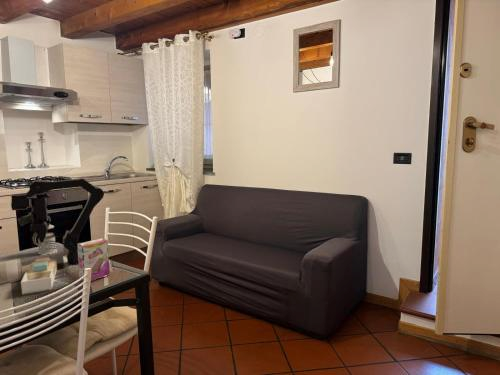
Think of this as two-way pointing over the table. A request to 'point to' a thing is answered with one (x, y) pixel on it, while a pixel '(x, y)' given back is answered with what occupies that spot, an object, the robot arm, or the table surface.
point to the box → (37, 284)
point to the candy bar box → (94, 257)
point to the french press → (51, 241)
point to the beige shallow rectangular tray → (42, 274)
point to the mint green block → (40, 266)
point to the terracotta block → (43, 260)
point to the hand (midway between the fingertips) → (42, 240)
